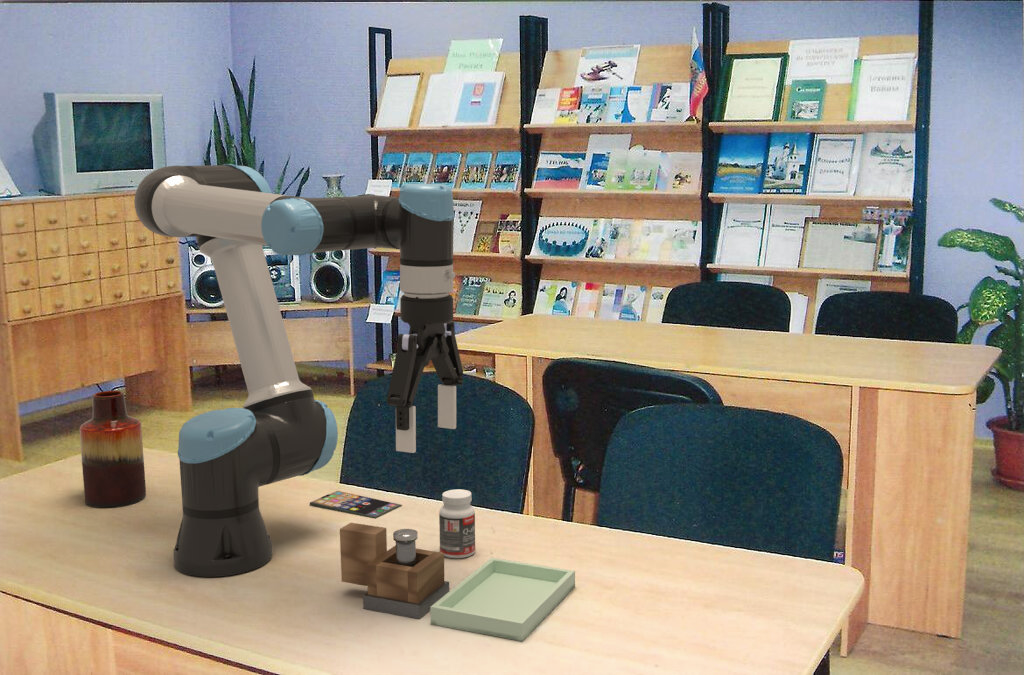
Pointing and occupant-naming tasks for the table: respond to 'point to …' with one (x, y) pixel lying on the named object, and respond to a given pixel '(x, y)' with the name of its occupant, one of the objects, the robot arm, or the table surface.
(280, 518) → the table surface
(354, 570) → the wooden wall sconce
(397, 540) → the grey peg stand
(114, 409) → the vase
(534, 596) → the tray
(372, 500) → the smartphone
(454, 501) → the pill bottle
